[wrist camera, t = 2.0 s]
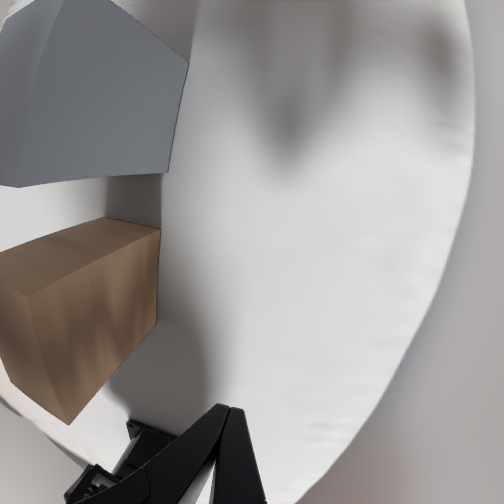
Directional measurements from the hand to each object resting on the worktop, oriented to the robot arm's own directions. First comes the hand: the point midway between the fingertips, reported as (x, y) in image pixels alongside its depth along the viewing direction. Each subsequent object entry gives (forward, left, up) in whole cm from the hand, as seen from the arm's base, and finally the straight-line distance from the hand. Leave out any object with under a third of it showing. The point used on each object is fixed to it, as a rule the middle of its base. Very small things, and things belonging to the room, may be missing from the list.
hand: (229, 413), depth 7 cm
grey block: (+9, +8, -8) cm, 14 cm away
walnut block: (0, +8, -8) cm, 11 cm away
